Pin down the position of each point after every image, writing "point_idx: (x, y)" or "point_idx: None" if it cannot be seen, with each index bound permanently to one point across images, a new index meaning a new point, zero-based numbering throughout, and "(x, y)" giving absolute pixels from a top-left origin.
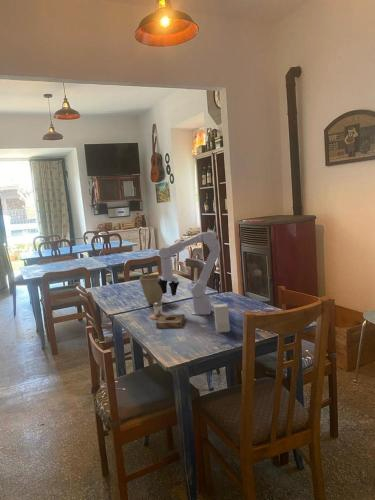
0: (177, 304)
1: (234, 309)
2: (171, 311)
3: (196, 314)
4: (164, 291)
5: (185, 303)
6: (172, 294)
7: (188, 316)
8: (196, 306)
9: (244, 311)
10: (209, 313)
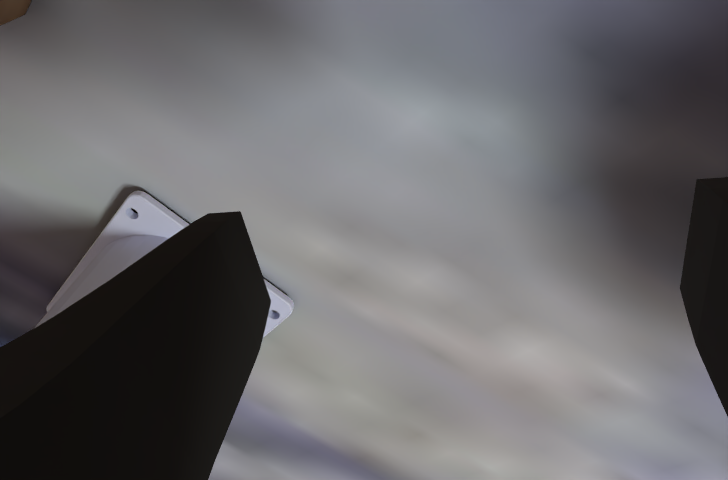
0: None
1: None
2: (520, 96)
3: (111, 221)
4: (713, 263)
5: (645, 409)
6: (191, 226)
7: (117, 122)
8: (68, 301)
9: None
10: (48, 310)
